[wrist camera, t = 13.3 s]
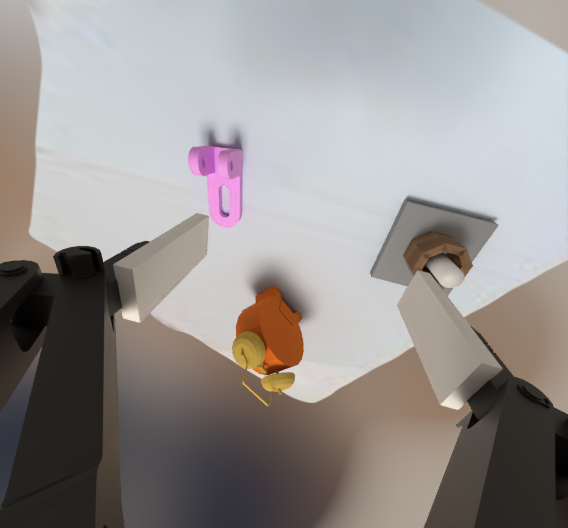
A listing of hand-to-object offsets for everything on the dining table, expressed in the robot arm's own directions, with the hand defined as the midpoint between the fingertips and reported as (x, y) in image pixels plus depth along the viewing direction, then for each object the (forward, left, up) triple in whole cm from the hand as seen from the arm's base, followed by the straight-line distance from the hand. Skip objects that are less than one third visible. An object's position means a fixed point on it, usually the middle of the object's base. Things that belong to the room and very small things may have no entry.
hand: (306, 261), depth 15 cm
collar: (+6, +21, -25) cm, 33 cm away
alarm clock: (+27, -1, -27) cm, 38 cm away
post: (+6, +21, -27) cm, 34 cm away
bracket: (+5, -15, -27) cm, 31 cm away
